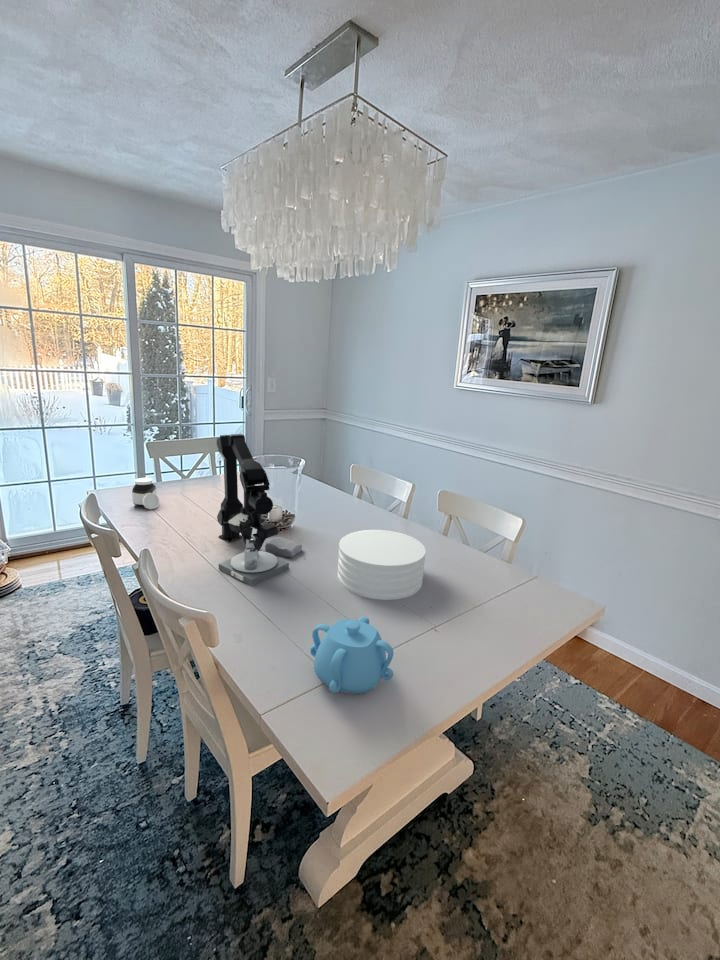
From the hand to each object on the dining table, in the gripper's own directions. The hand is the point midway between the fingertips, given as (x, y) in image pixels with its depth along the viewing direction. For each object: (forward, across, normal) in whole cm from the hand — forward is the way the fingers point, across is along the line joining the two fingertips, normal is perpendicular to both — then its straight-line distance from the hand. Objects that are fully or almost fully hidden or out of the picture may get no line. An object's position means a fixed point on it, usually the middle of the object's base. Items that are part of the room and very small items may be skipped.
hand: (252, 548), depth 150 cm
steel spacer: (+2, 0, 0) cm, 3 cm away
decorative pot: (+6, +58, -22) cm, 63 cm away
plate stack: (+6, +37, +22) cm, 44 cm away
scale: (+6, +3, -2) cm, 7 cm away
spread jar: (+6, -76, +6) cm, 76 cm away
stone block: (+6, 0, +16) cm, 17 cm away
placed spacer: (+3, +6, -6) cm, 9 cm away
